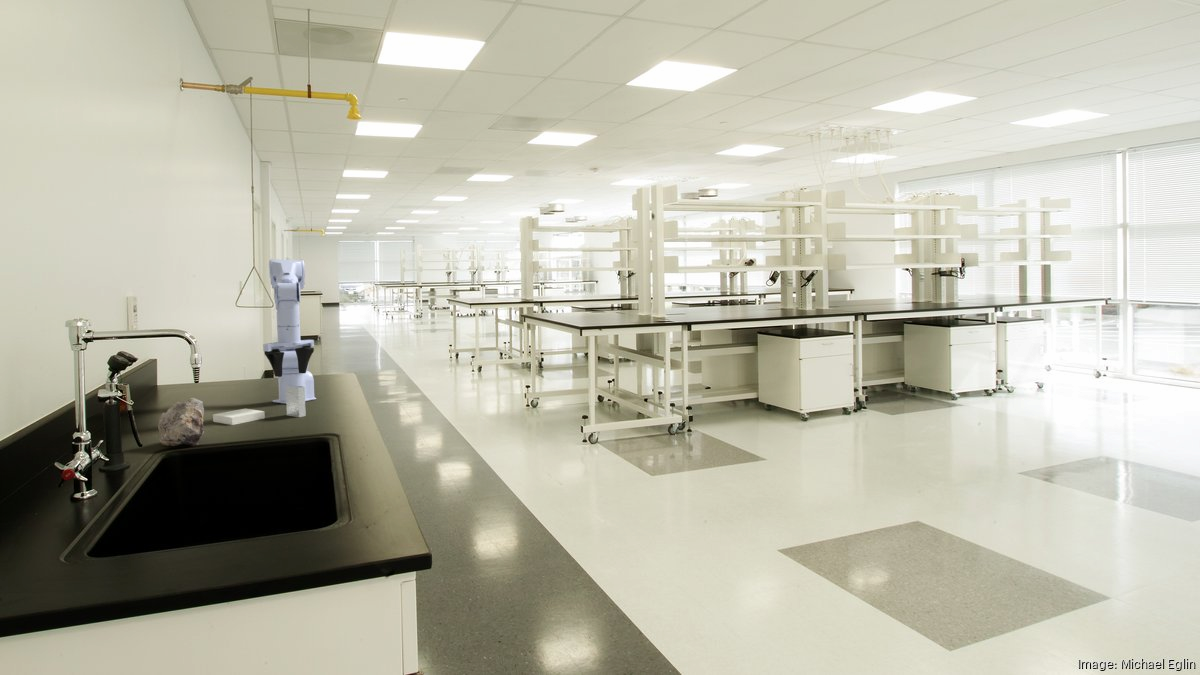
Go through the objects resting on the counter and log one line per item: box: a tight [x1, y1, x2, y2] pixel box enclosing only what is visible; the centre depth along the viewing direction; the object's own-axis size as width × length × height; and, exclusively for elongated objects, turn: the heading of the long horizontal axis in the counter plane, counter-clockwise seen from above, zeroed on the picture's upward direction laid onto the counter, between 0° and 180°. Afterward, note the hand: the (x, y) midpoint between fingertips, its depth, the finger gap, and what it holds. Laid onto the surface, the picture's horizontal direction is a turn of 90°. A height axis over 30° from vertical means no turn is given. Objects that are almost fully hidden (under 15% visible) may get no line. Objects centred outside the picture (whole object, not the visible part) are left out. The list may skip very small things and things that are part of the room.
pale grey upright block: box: [286, 385, 307, 418], centre depth 176 cm, size 2×5×8 cm, turn 63°
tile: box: [212, 408, 266, 426], centre depth 170 cm, size 2×8×9 cm
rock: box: [157, 397, 205, 447], centre depth 146 cm, size 9×12×10 cm
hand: (290, 374), depth 180 cm, fingers open, 7 cm apart
